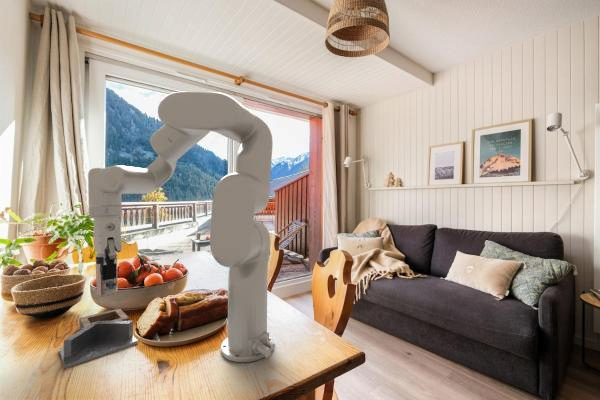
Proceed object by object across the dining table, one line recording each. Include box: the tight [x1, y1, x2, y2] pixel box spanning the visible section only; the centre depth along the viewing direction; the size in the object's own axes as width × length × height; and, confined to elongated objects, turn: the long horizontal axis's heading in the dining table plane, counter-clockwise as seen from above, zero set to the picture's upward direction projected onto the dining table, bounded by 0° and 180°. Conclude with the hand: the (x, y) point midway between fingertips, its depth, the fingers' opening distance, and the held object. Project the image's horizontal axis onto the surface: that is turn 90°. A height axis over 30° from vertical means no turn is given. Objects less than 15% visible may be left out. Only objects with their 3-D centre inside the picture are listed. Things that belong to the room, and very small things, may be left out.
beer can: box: [95, 252, 119, 298], centre depth 75 cm, size 5×5×12 cm
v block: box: [58, 320, 139, 370], centre depth 66 cm, size 10×14×5 cm
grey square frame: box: [78, 308, 130, 331], centre depth 75 cm, size 10×10×3 cm
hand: (107, 276), depth 75 cm, fingers closed on beer can, 4 cm apart
